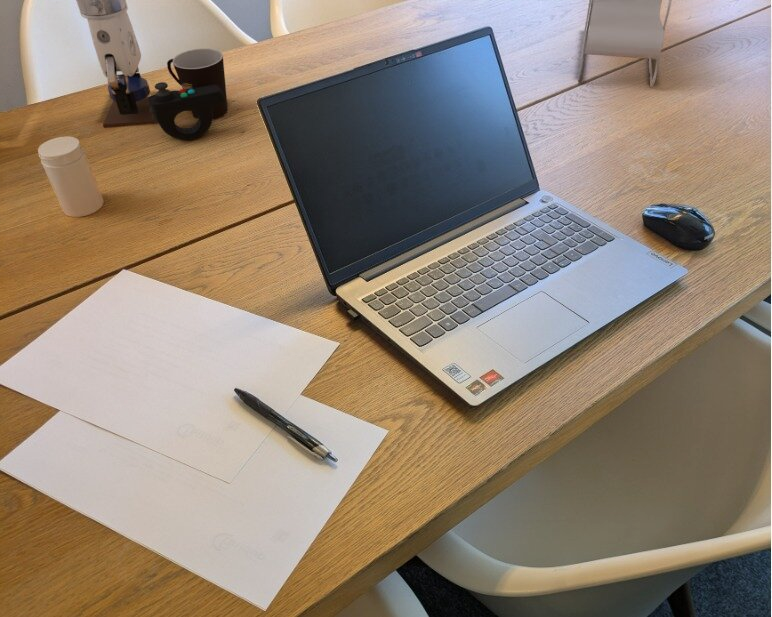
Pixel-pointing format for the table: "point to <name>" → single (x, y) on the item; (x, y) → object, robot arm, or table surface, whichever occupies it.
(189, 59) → the coffee mug
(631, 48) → the chair
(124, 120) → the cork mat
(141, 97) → the jar lid
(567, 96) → the table surface
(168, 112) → the controller
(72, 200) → the jar
